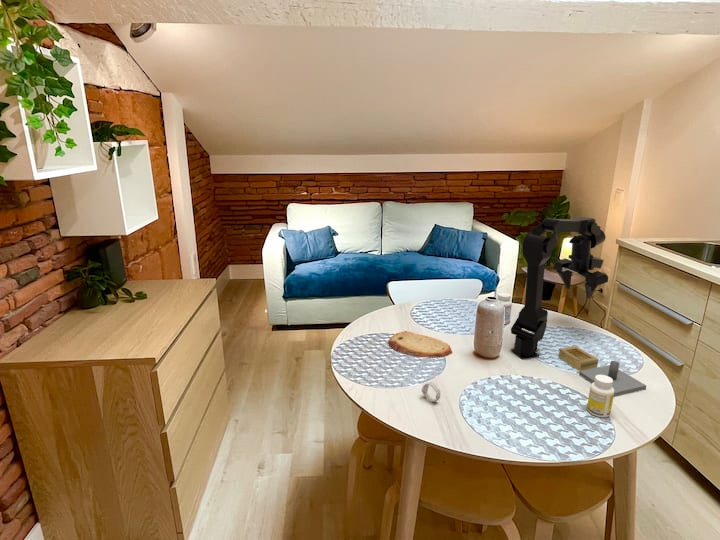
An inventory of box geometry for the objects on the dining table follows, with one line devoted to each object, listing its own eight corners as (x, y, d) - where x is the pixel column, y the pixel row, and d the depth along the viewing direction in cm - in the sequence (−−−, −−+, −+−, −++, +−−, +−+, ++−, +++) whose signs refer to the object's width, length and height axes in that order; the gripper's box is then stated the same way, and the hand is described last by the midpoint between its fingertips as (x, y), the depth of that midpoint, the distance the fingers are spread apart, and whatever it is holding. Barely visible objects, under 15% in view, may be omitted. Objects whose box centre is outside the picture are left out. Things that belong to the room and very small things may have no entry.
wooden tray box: (579, 371, 132) (581, 362, 131) (558, 357, 140) (559, 349, 139) (596, 367, 133) (598, 359, 133) (574, 354, 142) (576, 346, 141)
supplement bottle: (602, 405, 115) (608, 372, 112) (614, 418, 110) (621, 384, 107) (582, 405, 115) (588, 373, 112) (593, 418, 110) (599, 384, 107)
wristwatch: (427, 394, 120) (428, 378, 119) (441, 402, 117) (442, 386, 115) (420, 398, 118) (421, 382, 117) (434, 406, 115) (435, 390, 113)
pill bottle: (489, 319, 168) (492, 292, 165) (502, 317, 170) (505, 290, 167) (499, 326, 163) (502, 298, 159) (513, 323, 165) (516, 296, 161)
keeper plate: (612, 396, 119) (616, 377, 117) (578, 374, 130) (582, 356, 128) (645, 389, 122) (650, 369, 120) (610, 368, 133) (613, 350, 131)
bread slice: (456, 355, 142) (457, 344, 141) (407, 365, 136) (408, 354, 135) (428, 332, 158) (428, 323, 157) (383, 341, 152) (383, 331, 151)
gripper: (623, 254, 142) (618, 297, 148) (577, 239, 158) (575, 278, 164) (596, 263, 139) (593, 306, 145) (553, 247, 155) (551, 286, 161)
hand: (578, 293), depth 154 cm, fingers open, 9 cm apart
